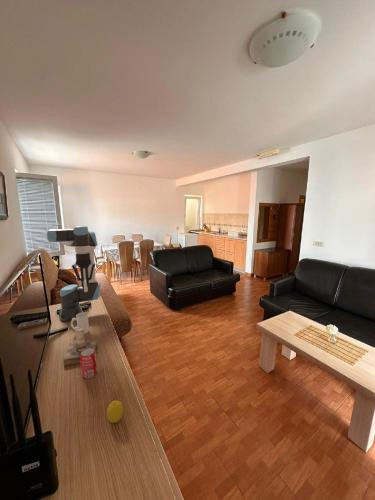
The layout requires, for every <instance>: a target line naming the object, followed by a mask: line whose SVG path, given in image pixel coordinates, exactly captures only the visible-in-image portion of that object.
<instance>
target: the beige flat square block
mask: <svg viewBox="0 0 375 500" xmlns="http://www.w3.org/2000/svg"><path fill="white" fill-rule="evenodd" d="M97 344H98V343H97V338H94V339H89V340H85V349H86V348H94V350H95V352H96V351H97V346H98V345H97ZM81 352H82V351H80V352H78V350H77V346H76V342H71V343H69V344H68V346H67V348H66V351H65V354H64V357H63V359H62V360H63V361H62V363H63V367H68V366H71V365H76V364H80V355H81ZM96 353H97V352H96Z"/></svg>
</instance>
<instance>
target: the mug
mask: <svg viewBox="0 0 375 500" xmlns="http://www.w3.org/2000/svg"><path fill="white" fill-rule="evenodd" d="M75 321H76V325H77V326H74V324H73V323H74V322H75ZM70 326H71V328H72V330H73V331H76V330H78V329H83V330H84V335H85V334H88V332H89V331H90V330H89V329H90V327H89V313H88V311H87V312H86V311H85V312H82V313H79V314H77V315H76V318H72V321H70Z"/></svg>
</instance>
